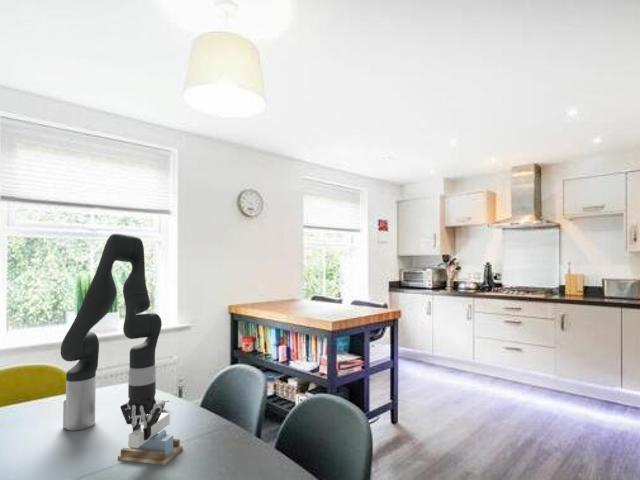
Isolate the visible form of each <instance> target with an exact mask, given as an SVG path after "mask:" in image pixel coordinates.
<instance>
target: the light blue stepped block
mask: <svg viewBox="0 0 640 480" xmlns="http://www.w3.org/2000/svg"><path fill="white" fill-rule="evenodd" d="M173 439H174V434H167V430H165V429H162V430H161V431H160V432H158V433H157V434H156V435H154V436H153V437H152V438H150V439H149V440H148V441H146V442H145V443H144V444H142V445H141V446H139V447H138V448H134V447H129V448H131V449H140V450H150V451H159V452H164V456H166V455H167V454H169V453H170V452H171V451H172V450H173ZM127 443H128V445H127V446H129V440H128V442H127Z"/></svg>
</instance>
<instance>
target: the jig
mask: <svg viewBox="0 0 640 480" xmlns="http://www.w3.org/2000/svg"><path fill="white" fill-rule="evenodd" d="M180 443H181V439H180V438H173V450H172V451H171V452H170V453H169V454H167V455H166V456H164V452H159V451H150V450H140V449H131V448H130V447H122V448H121V449H120V454H118V455H117V460H120V461H128V462H135V463H136V462H137V463H144V464H145V463H146V464H154V465H159V466H160V465H161V466H166V465H167V463H169V462H170V461H171V460H172V459H174V457H175V456H176V455H178V454H179V453H181V451H182V450H183V447H184V446H183V445H181V444H180Z"/></svg>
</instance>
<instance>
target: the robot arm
mask: <svg viewBox="0 0 640 480" xmlns="http://www.w3.org/2000/svg"><path fill="white" fill-rule="evenodd" d="M116 261H117V262H125V263H130V264H131V271H130V273H129V275H128V276H127V277H126V280H125V281H124V283H123V288H122V296H123V299H124V301H123V302H124V305H125V317H124V321H123V326H122V328H123V329H122V330H123V332H122V333H124V336H125V337H126V338H127V339H129V340H136V339H143V338H146V339H145V340H144V341H143V342H141V343H139V344H137V345H134V346H133V347H131V349H130V350H129V367H128V368H129V370H128V381H127V382H128V387H127V388H128V390H127V392H128V395H127V397H128V401H127V402H125V403H123V404H122V405H121V406H120V410H121V413H122V415H123V418H124V421H125V422H126V425H130V426H131V427H132V432H133V431H135V430H137V429H139V428H140V427H141V426H142V425H143V426H144V428H143V431H144V440H147V439H148V438H149V437H150V436H151V426H153V425H154V424H155V423H157V421H158V419H159V417H160V415H161V413H163V410H164V408H165V407H164V406H163V405H161V406H159V405H157V404H156V401H155V399H156V397H155V396H156V393H157V392H156V391H157V390H156V389H157V388H156V387H157V383H156V382H157V378H156V377H157V371H156V348H157V344H158V339H159V336H160V333H161V330H162V325H163V324H162V323H163V322H162V318H161V317H160V315H159V314H158V313H155V312H151V313H144V312H146V311H147V310H149V308H150V306H151V301H150V295H149V291H148V288H147V283H146V267H145V266H146V265H145V264H146V263H145V249H144V243H143V240H142V239H141V238H140V237H137V236H134V235H129V234H122V233H119V232H118V233H112V234H110V235H109V237H108V238H107V240H106V243H105V245H104V247H103V250H102V254H101V256H100V259H99V262H98V266H97V268H96V271H95V274H94V276H93V278H92V280H91V283H90V285H89V286H88V289H87V290H86V293H85V295H84V298H83V300H82V303H81V305H80V308H79V310H78V312H77V315H76V316H75V318H74V320H73V322H72V324H71V325H70V328H69V329H68V330H67V332H66V334H65V336H64V338H63V340H62V342H61V346H60V356H61V359H63V360H64V361H65V362H76V361H78V362H77V363H76V364H75V365H74V366H72V367H71V368H69V370H67V372H66V374H65V375H66V376H65V381H66V382H65V399H64V401H63V403H62V404H63V406H62V407H63V410H62V411H63V412H62V413H63V414H62V428H64V429H65V430H66V431H72V432H73V431H79V430H80V431H81V430H85V429H88V428H90V427H92V426H94V424H96V390H97V389H96V377H97V376H96V375H97V373H96V372H97V370H98V365H99V352H100V342H99V338H98V335H97V334H96V333H94V332H92V331H91V330H92V328H94V326H96V325H97V324H98V323H99V322H100V321H101V320H102V319H103V318H105V317H106V315H108V313H109V312H110V310H111V309H112V307H113V304H114V302H115V300H116V297H117V295H118V294H117V292H118V291H117V285H116V284H115V281H114V277H113V271H112V270H113V267H114V264H115V262H116ZM153 408H154V410H153V414H152V409H153ZM141 421H142V423H143V424H141Z"/></svg>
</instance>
